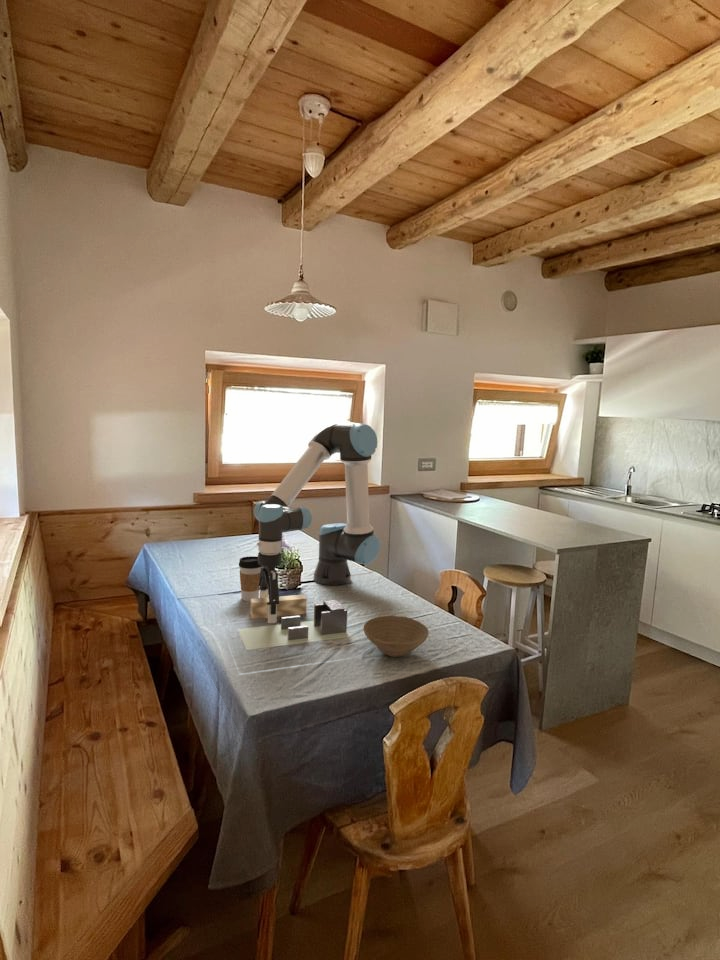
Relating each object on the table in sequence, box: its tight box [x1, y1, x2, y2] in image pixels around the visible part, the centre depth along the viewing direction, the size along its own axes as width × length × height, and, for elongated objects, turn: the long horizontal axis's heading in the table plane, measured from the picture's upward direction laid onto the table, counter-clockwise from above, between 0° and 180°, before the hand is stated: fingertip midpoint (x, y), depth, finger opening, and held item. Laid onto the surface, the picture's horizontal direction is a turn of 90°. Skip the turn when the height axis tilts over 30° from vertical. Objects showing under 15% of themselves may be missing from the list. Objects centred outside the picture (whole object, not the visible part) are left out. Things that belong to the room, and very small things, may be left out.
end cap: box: [313, 599, 348, 635], centre depth 167 cm, size 8×8×8 cm
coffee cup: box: [238, 556, 261, 602], centre depth 190 cm, size 8×8×15 cm
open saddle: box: [280, 614, 308, 640], centre depth 163 cm, size 6×9×4 cm, turn 23°
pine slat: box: [249, 594, 308, 620], centre depth 177 cm, size 18×4×6 cm, turn 111°
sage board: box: [237, 620, 352, 651], centre depth 163 cm, size 32×15×1 cm, turn 112°
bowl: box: [363, 615, 429, 658], centre depth 152 cm, size 18×18×8 cm
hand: (267, 615), depth 176 cm, fingers open, 12 cm apart
